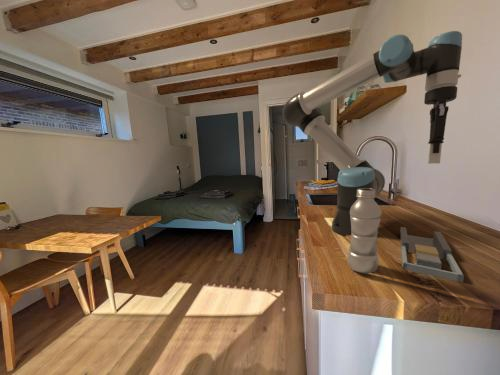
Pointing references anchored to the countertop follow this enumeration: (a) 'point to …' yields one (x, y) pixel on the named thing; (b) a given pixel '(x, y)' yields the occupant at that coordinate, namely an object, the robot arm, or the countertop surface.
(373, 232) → the plastic bottle
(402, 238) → the channel
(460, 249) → the countertop surface
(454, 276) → the grey u-shaped frame
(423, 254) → the steel block
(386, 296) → the countertop surface
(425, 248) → the brass block
